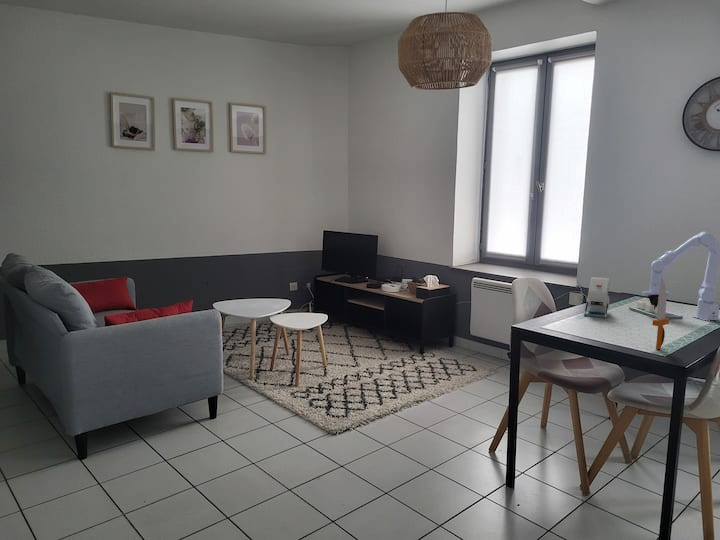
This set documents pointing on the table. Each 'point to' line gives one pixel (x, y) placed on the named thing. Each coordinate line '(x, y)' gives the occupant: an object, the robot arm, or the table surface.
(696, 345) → the table surface
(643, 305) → the breaker
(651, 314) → the panel
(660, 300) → the knife
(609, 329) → the table surface
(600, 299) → the robotic device
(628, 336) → the table surface
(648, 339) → the table surface
